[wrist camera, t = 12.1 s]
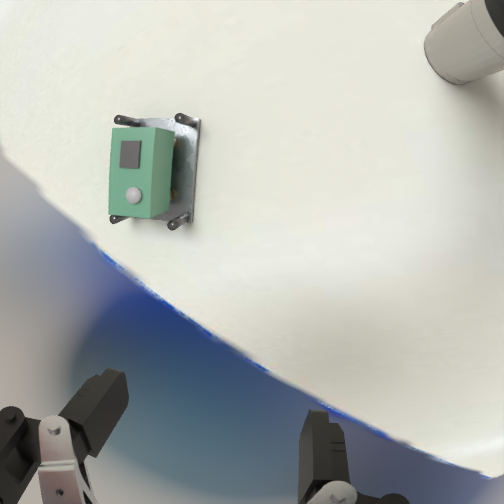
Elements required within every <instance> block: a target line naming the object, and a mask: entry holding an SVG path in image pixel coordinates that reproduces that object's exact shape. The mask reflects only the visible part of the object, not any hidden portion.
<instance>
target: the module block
mask: <svg viewBox="0 0 504 504" xmlns="http://www.w3.org/2000/svg"><path fill="white" fill-rule="evenodd" d="M174 134H175V131H170V130H166V129H161V128H157V127H133V128H113V129H112V140H111V154H110V172H109V215H119V216H129V217H139V218H149V219H150V218H152V217H155V216H157V215H159V214H161V213H164V212H166V211H168V210H169V204H170V186H171V171H172V157H173V145H174Z"/></svg>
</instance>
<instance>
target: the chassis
mask: <svg viewBox="0 0 504 504" xmlns="http://www.w3.org/2000/svg"><path fill="white" fill-rule="evenodd" d="M200 121H201V119H198V118H191V117H189V116H186V115H184V114H182V113H178V114H176V115H175V118H147V119H135V118H131V117H126V116H122V115H117V116H116V117H115V118H114V122H115V123H116V124H119V125H125V126H130V128H133V127H157V128H161V129H166V130H170V131H175V134H174V145H173V157H172V171H171V186H170V204H169V210H168V211H166V212H164V213H161V214H159V215H157V216H155V217H152V218H150V219H158V220H168V221H169V222H168V224H167V226H168V228H169V229H170V230H175V229H176V228H178V227H180V226H181V225H183V224H184V223H186V222H187V223H191V222H193V208H194V192H195V178H196V165H197V153H198V141H199V131H200ZM128 218H130V217H129V216H119V215H111V216H110V222H111V223H112V224H115V223H118V222H120V221H123V220H125V219H128ZM138 218H139V217H138ZM148 219H149V218H148Z"/></svg>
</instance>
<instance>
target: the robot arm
mask: <svg viewBox="0 0 504 504" xmlns="http://www.w3.org/2000/svg"><path fill="white" fill-rule="evenodd" d="M424 45H425V53H426V56H427V58H428V61H429V62H430V64H431V66H432V67H433V68H434V70H435V71H436V72H437V73H438V74H439V75H440V76H441V77H443V78H444V79H445V80H447V81H449V82H451V83H454V84H465V83H468V82H471V81H473V80H476V79H479V78H482V77H485V76H488V75H491V74H493V73H496V72H499V71H502V70H504V0H469V1H468V2H466V3H465V4H464V3H462V2H459V3H457V4H456V5H455V6H454V7H453V8H452V9H450V10H449V11H448V12H447V13H446V14H445V15H443V16H442V17H441V18H440V19H439V20H438V21H436V22H435V23H434V24H433V25H432V31H431V32H430V33H429V34H428V35H427V37H426V38H425V43H424ZM128 401H129V395H128V388H127V382H126V376H125V373H124V372H121V371H119V370H115V369H112V368H107V369H106V370H105V371H104V372H103V374H102V375H101V376H99V375H95V376H93V377H91V378H90V379H88V380H87V381H86V382H85V383H84V384H83V385H82V387H81V389H79V390H78V391H77V393H76V395H74V396H73V398H72V399H71V400H70V401H69V403H68V404H67V405H66V406H65V407H64V409H63V410H62V411H61V413H60V414H59V415H58V416H56V415H52V416H48V417H46V418H44V419H43V420H36V419H32V418H27V417H25V416H24V414H23V412H22V411H21V410H20V409H19V408H17V407H14V406H9V407H5V408H3V409H2V410H1V411H0V504H17V503H18V501H19V499H20V498H21V496H22V494H23V493H24V491H25V489H26V487H27V486H28V484H29V482H30V481H31V479H32V477H33V475H34V474H35V472H36V471H37V469H38V475H39V482H40V489H41V495H42V500H43V504H98V503H97V500H96V498H95V496H94V493H93V490H92V486H91V482H90V479H89V475H88V471H87V467H86V463H85V458H86V456H87V455H90V456H93V457H95V458H96V457H97V455H98V454H99V452H100V450H101V449H102V447H103V445H104V444H105V442H106V440H107V439H108V437H109V436H110V434H111V432H112V430H113V429H114V427H115V426H116V424H117V422H118V421H119V419H120V417H121V416H122V414H123V413H124V411H125V409H126V408H127V405H128ZM41 463H42V465H40V464H41ZM298 504H409V501H408V500H407V499H406V498H405V497H404V496H402V495H400V494H395V493H392V494H387V495H385V496H383V497H382V498H381V499H380V498H375V497H371V496H367V495H363V494H361V493H359V492H357V491H356V490H355V488H354V487H353V486H352V485H351V483H350V479H349V472H348V463H347V454H346V446H345V439H344V432H343V431H342V430H341V428H340V426H339V425H338V423H329V417H328V412H327V411H323V410H309V412H308V415H307V417H306V420H305V423H304V426H303V428H302V431H301V435H300V441H299V483H298Z"/></svg>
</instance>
